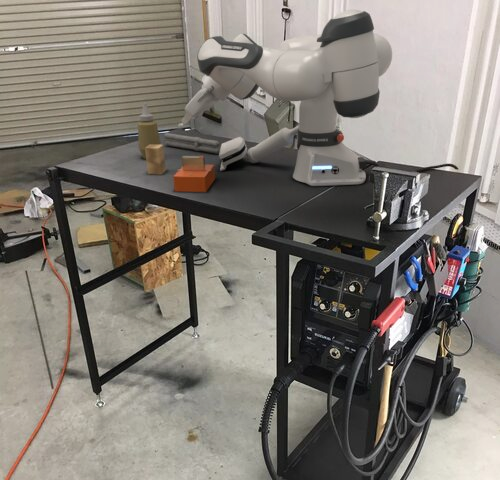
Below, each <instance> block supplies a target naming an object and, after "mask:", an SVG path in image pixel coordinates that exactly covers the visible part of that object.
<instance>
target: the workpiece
mask: <svg viewBox="0 0 500 480" xmlns="http://www.w3.org/2000/svg"><path fill="white" fill-rule="evenodd" d="M145 153H146V159H145V160H146V168H147V175H159V176H161V175H163V174H164V173H165V172H166V171H167V168H166V167H167V166H166V158H165V148H164V144H161V145H154V144H150V145H148V146H147V147H145Z"/></svg>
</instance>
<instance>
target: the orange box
mask: <svg viewBox="0 0 500 480" xmlns="http://www.w3.org/2000/svg"><path fill="white" fill-rule="evenodd" d="M215 170H216V169H215V164H205V171H183V166H181V168H180V169H179V168H178V169H176V173H175V174H174V175H173V177H172V178H173V187H174V192H179V193H180V192H183V193H184V192H186V193H191V192H192V193H206V192H207V191H208V190H209V189H210V187H211V186H212V184H213V183H214V181H216V171H215Z"/></svg>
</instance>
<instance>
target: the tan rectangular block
mask: <svg viewBox="0 0 500 480" xmlns="http://www.w3.org/2000/svg"><path fill="white" fill-rule="evenodd" d="M181 160H182V167H183V171H205V165H206V160H205V155H203V154H202V155H201V154H200V155H183V156H181Z"/></svg>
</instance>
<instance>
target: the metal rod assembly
mask: <svg viewBox="0 0 500 480" xmlns="http://www.w3.org/2000/svg"><path fill="white" fill-rule="evenodd" d="M163 135H164V139H166V140H165V141H164V144H165V146H168V147H173V148H180V149H187V150H191V151H195V152H205V153H211V154H215V155H217V154H218V155H219V153H220V148H219V146H220V141H218V140H214V139H207V138H202V137H199V136H189V135H182V134H175V133H169V132H165V133H164V134H163Z"/></svg>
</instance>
